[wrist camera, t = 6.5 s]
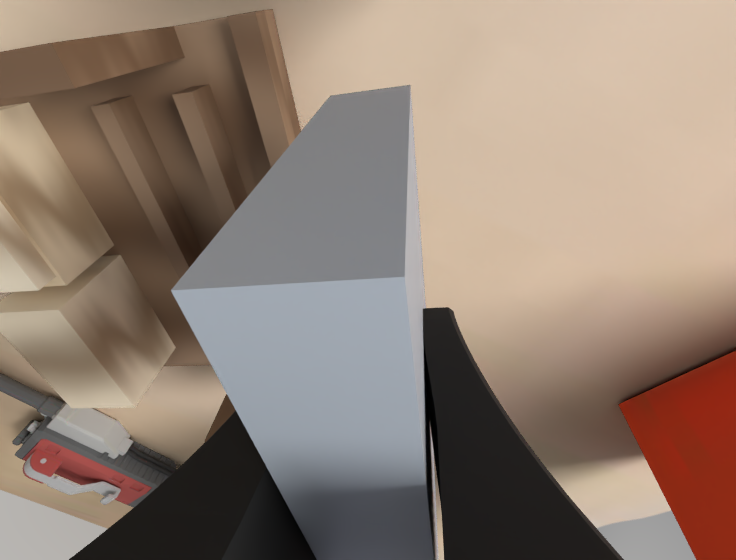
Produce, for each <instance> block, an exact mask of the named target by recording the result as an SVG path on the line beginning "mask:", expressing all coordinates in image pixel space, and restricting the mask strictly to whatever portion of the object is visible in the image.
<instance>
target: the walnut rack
mask: <svg viewBox="0 0 736 560" xmlns="http://www.w3.org/2000/svg"><path fill="white" fill-rule="evenodd" d="M28 102H29V103H30V105H31V107H32V108H33V110H34V112H35V113H36V115H37V117H38V118H39V120H40V122H41V123H42V125H43V127H44V129H45V130H46V132H47V134H48V135H49V137H50V139H51V140H52V142H53V144H54V145H55V147H56V149H57V150H58V152H59V154H60V155H61V157H62V159H63V160H64V162H65V164H66V165H67V167H68V169H69V170H70V172H71V174H72V175H73V177H74V179H75V180H76V182H77V184H78V185H79V187H80V189H81V190H82V192H83V194H84V195H85V197H86V199H87V200H88V202H89V204H90V205H91V207H92V209H93V210H94V212H95V214H96V215H97V217H98V219H99V220H100V222H101V224H102V225H103V227H104V229H105V230H106V232H107V234H108V235H109V237H110V239H111V240H112V242H113V244H114V246H113V247H112V248H111V249H109V250H108V251H107V252H106V253H105V254H103V255H102V256H111V255H121V257H122V259H123V260H124V262H125V264H126V265H127V267H128V269H129V270H130V272H131V274H132V275H133V277H134V279H135V280H136V282H137V284H138V285H139V287H140V289H141V290H142V292H143V294H144V295H145V297H146V299H147V300H148V302H149V304H150V305H151V307H152V309H153V310H154V312H155V314H156V315H157V317H158V319H159V320H160V322H161V324H162V325H163V327H164V329H165V330H166V332H167V334H168V335H169V337H170V339H171V340H172V342H173V344H174V345H175V347H176V348H175V349H174V351H173V352H172V354H171V355H170V357H169V358H168V360H167V361H166V363H165V364H164V366H191V365H211V364H210V362H209V360H208V358H207V356H206V354H205V353H204V351H203V349H202V347H201V345H200V343H199V342H198V340H197V338H196V336H195V334H194V332H193V330H192V329H191V327H190V325H189V323H188V321H187V319H186V318H185V316H184V314H183V312H182V310H181V308H180V307H179V305H178V303H177V301H176V299H175V297H174V295H173V294H172V292H171V290H172V288H173V287H174V286H175V285H176V284H177V282H178V281H179V280H180V279H181V277H182V276H183V275H184V274H185V273H186V271H187V270H188V269H189V268H190V266H191V265H192V264H193V263H194V262H195V260H196V259H197V258H198V257H199V255H200V254H201V253H202V252H203V251H204V249H205V248H206V247H207V246H208V244H209V243H210V242H211V241H212V240H213V238H214V237H215V236H216V235H217V233H218V232H219V231H220V230H221V229H222V227H223V226H224V225H225V224H226V223H227V221H228V220H229V219H230V218H231V216H232V215H233V214H234V213H235V212H236V210H237V209H238V208H239V207H240V205H241V204H242V203H243V202H244V201H245V199H246V198H247V197H248V196H249V194H250V193H251V192H252V191H253V190H254V188H255V187H256V186H257V185H258V183H259V182H260V181H261V180H262V179H263V177H264V176H265V175H266V174H267V172H268V171H269V170H270V169H271V168H272V166H273V165H274V164H275V163H276V161H277V160H278V159H279V158H280V157H281V155H282V154H283V153H284V152H285V151H286V149H287V148H288V147H289V146H290V144H291V143H292V142H293V141H294V140H295V138H296V137H297V136H298V135H299V133H300V132H301V130H300V126H299V121H298V117H297V113H296V108H295V104H294V100H293V95H292V91H291V87H290V82H289V78H288V74H287V69H286V65H285V61H284V57H283V52H282V48H281V44H280V39H279V35H278V31H277V26H276V22H275V18H274V13H273V9H272V10H263V11H255V12H249V13H243V14H238V15H232V16H227V17H224V18H218V19H212V20H207V21H201V22H195V23H190V24H184V25H178V26H172V27H165V28H157V29H150V30H143V31H135V32H128V33H121V34H113V35H106V36H99V37H91V38H84V39H77V40H70V41H62V42H55V43H48V44H43V45H37V46H31V47H26V48H20V49H15V50H9V51H3V52H0V107H2V106H9V105H15V104H22V103H28ZM234 411H235V408H234V406H233V404H232V402H231V400H230V399H229V397H228V395H227V394H226V396H225V398H224V401H223V403H222V405H221V407H220V409H219V411H218V413H217V416H216V418H215V420H214V422H213V424H212V426H211V428H210V431H209V433H208V435H207V437H206V439H205V442H206V441H207V440H208V439H209V438H210V437H211V436H212V435H213V434H214V433H215V432H216V431H217V430H218V429H219V428H220V427H221V426H222V425H223V424H224V423H225V421H226V420H227V419H228V418H229V417H230V416H231V415H232V414H233V413H234Z"/></svg>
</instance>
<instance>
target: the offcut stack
mask: <svg viewBox="0 0 736 560" xmlns="http://www.w3.org/2000/svg"><path fill="white" fill-rule="evenodd" d="M113 246H114V244H113V242H112V240H111V239H110V237H109V235H108V234H107V232H106V230H105V229H104V227H103V225H102V224H101V222H100V220H99V219H98V217H97V215H96V214H95V212H94V210H93V209H92V207H91V205H90V204H89V202H88V200H87V199H86V197H85V195H84V194H83V192H82V190H81V189H80V187H79V185H78V184H77V182H76V180H75V179H74V177H73V175H72V174H71V172H70V170H69V169H68V167H67V165H66V164H65V162H64V160H63V159H62V157H61V155H60V154H59V152H58V150H57V149H56V147H55V145H54V144H53V142H52V140H51V139H50V137H49V135H48V134H47V132H46V130H45V129H44V127H43V125H42V123H41V122H40V120H39V118H38V117H37V115H36V113H35V112H34V110H33V108H32V107H31V105H30V103H29V102H28V103H22V104H15V105H9V106H2V107H0V293H5V292H12V293H10V294H9V295H8V296H6V297H5V298H4V299H2V300H1V301H0V333H1V334H2V335H3V336H4V337H5V338H6V339H7V340H8V341H9V342H10V343H11V344H12V345H13V346H14V347H15V349H16V350H17V351H18V352H19V353H20V354H21V355H22V356H23V357H24V358H25V359H26V360H27V361H28V362H29V363H30V365H31V366H32V367H33V368H34V369H35V370H36V371H37V372H38V373H39V374H40V375H41V376H42V377H43V378H44V379H45V381H46V382H47V383H48V384H49V385H50V386H51V387H52V388H53V389H54V390H55V391H56V392H57V393H58V394H59V395H60V397H61V398H62V399H63V400H64V401H65V402H66V403H67V404H68V405H69V406H70V407H71V408H136V406H137V405H138V403H139V402H140V400H141V399H142V397H143V396H144V394H145V393H146V391H147V390H148V388H149V387H150V385H151V384H152V382H153V381H154V379H155V378H156V376H157V375H158V373H159V372H160V370H161V369H162V367H163V366H164V364H165V363H166V361H167V360H168V358H169V357H170V355H171V354H172V352H173V351H174V349H175V348H176V347H175V345H174V344H173V342H172V340H171V339H170V337H169V335H168V334H167V332H166V330H165V329H164V327H163V325H162V324H161V322H160V320H159V319H158V317H157V315H156V314H155V312H154V310H153V309H152V307H151V305H150V304H149V302H148V300H147V299H146V297H145V295H144V294H143V292H142V290H141V289H140V287H139V285H138V284H137V282H136V280H135V279H134V277H133V275H132V274H131V272H130V270H129V269H128V267H127V265H126V264H125V262H124V260H123V259H122V257H121V255H111V256H102V255H103V254H105V253H106V252H107V251H108V250H109V249H111V248H112V247H113Z"/></svg>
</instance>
